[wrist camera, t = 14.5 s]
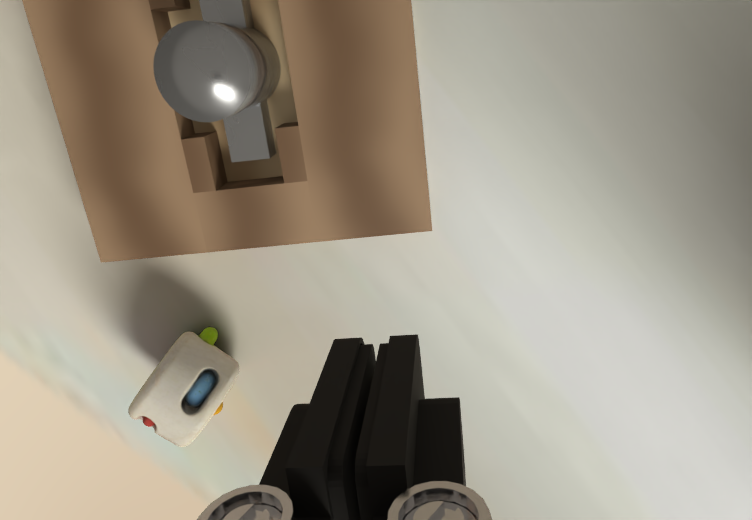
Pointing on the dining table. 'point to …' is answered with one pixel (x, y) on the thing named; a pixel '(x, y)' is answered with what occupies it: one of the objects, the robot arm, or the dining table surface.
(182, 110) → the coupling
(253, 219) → the socket plate
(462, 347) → the dining table surface
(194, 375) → the roller toy
